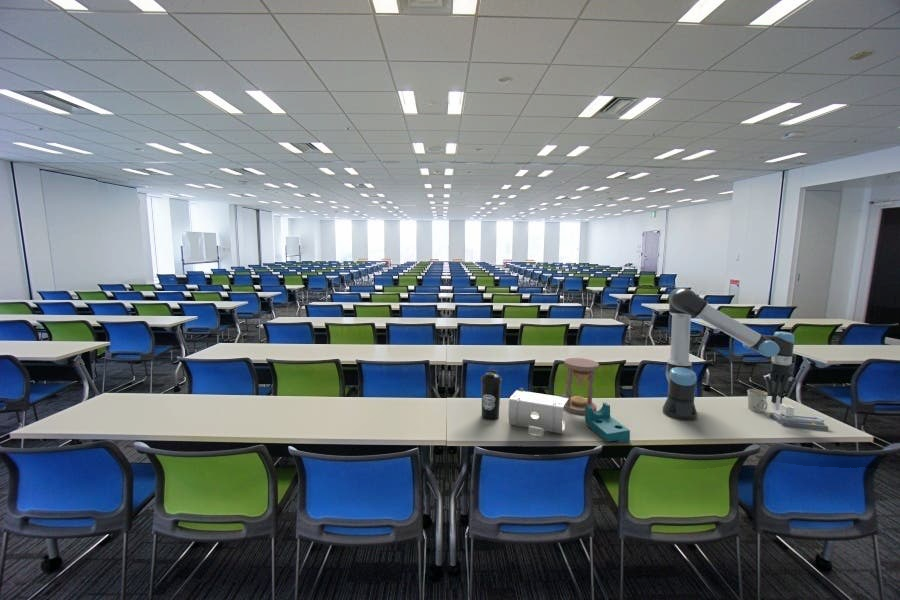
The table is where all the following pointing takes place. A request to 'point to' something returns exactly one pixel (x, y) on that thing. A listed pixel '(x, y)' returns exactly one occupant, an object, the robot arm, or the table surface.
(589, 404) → the hourglass
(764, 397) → the mug
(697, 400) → the table surface
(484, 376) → the water bottle
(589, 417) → the teal l-shaped bracket
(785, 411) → the fader tab
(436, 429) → the table surface
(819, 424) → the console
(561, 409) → the portable electronic device stand
